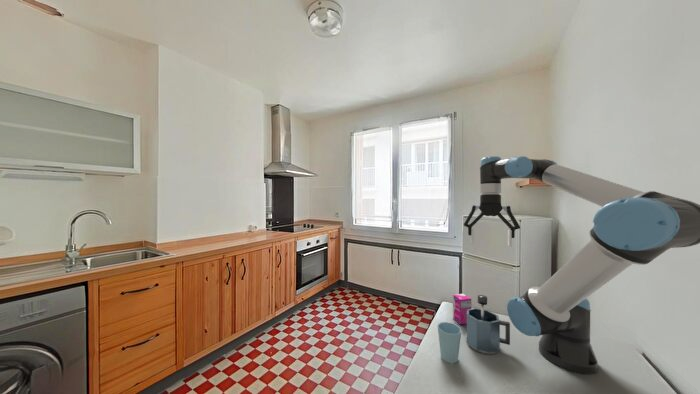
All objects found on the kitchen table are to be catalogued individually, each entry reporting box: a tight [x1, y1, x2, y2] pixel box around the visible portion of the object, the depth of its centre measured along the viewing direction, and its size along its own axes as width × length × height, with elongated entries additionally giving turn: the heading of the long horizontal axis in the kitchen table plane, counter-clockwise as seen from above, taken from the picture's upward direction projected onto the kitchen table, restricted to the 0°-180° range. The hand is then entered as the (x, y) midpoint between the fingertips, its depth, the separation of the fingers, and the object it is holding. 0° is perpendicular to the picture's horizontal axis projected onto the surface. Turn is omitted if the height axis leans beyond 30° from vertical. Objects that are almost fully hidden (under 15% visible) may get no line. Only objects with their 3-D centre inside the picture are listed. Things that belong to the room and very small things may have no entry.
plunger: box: [477, 294, 488, 321], centre depth 88 cm, size 8×8×16 cm
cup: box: [437, 321, 462, 364], centre depth 81 cm, size 8×8×10 cm
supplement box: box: [452, 293, 472, 326], centre depth 106 cm, size 6×6×12 cm
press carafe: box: [466, 307, 511, 356], centre depth 88 cm, size 14×11×12 cm
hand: (490, 244), depth 98 cm, fingers open, 13 cm apart
